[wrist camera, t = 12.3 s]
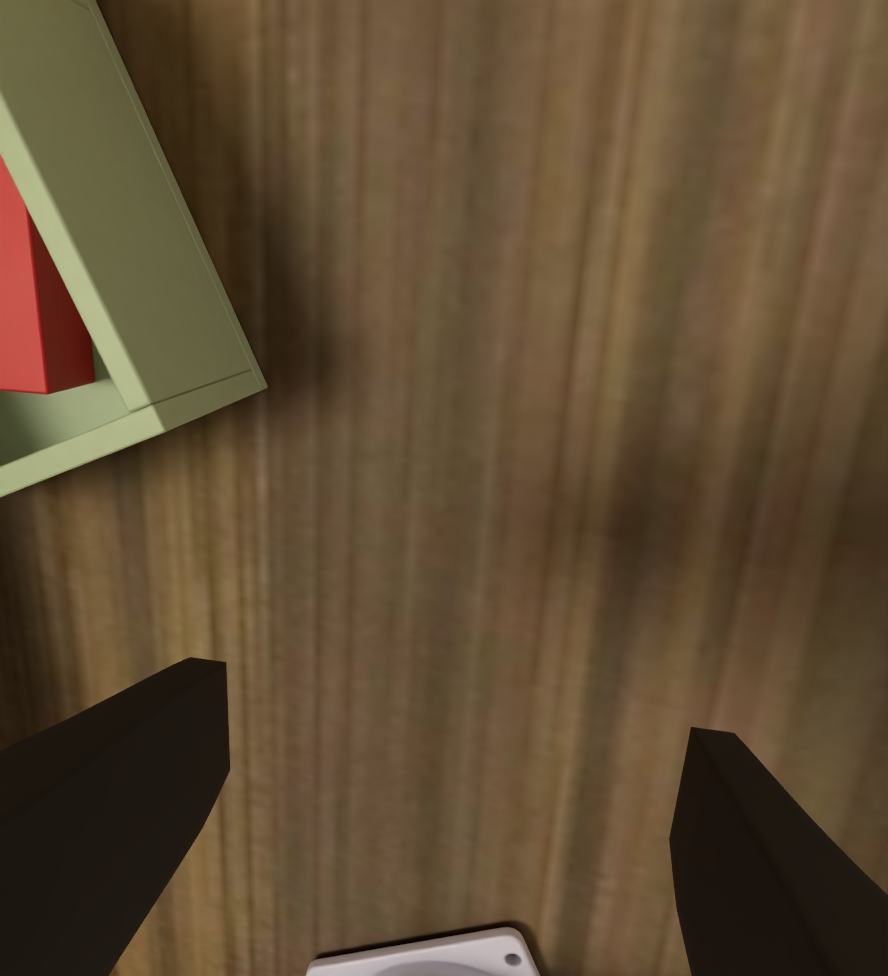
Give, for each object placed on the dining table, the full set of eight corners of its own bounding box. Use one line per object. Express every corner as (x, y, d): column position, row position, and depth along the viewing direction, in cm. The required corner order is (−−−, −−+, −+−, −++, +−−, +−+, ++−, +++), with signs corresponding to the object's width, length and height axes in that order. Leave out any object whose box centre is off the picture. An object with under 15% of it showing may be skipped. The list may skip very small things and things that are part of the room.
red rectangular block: (96, 383, 20) (48, 395, 18) (-9, 373, 20) (-68, 384, 18) (76, 144, 18) (19, 130, 16) (-41, 138, 18) (-109, 124, 17)
